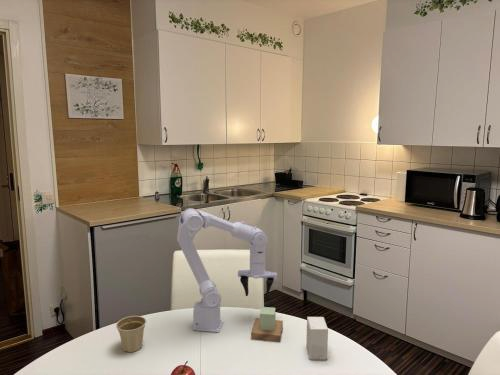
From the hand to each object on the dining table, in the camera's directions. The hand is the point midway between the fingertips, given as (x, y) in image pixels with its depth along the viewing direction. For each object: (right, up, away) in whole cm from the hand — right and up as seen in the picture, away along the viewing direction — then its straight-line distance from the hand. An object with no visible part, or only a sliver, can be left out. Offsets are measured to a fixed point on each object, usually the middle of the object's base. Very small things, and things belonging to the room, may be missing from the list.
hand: (257, 295), depth 141 cm
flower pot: (-42, -12, -17) cm, 46 cm away
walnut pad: (+3, -11, -8) cm, 14 cm away
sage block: (+4, -8, -8) cm, 12 cm away
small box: (+19, -13, -19) cm, 30 cm away
